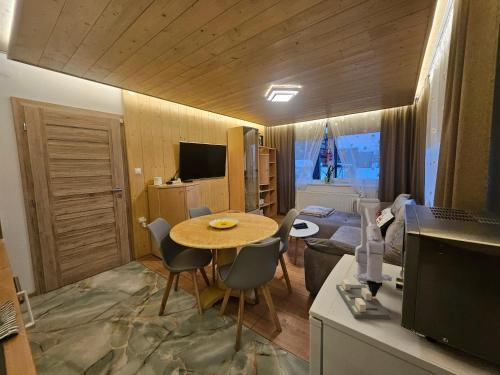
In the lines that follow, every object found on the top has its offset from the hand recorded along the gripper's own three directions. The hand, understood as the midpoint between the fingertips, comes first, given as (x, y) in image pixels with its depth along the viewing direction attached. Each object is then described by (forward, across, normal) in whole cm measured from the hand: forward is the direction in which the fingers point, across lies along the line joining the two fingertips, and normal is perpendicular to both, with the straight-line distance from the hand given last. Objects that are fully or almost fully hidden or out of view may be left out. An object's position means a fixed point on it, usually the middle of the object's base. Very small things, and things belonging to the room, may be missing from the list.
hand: (372, 295), depth 92 cm
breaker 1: (+1, -9, +7) cm, 11 cm away
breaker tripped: (+1, -3, 0) cm, 3 cm away
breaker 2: (+1, -9, -7) cm, 11 cm away
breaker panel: (+3, -5, 0) cm, 6 cm away
